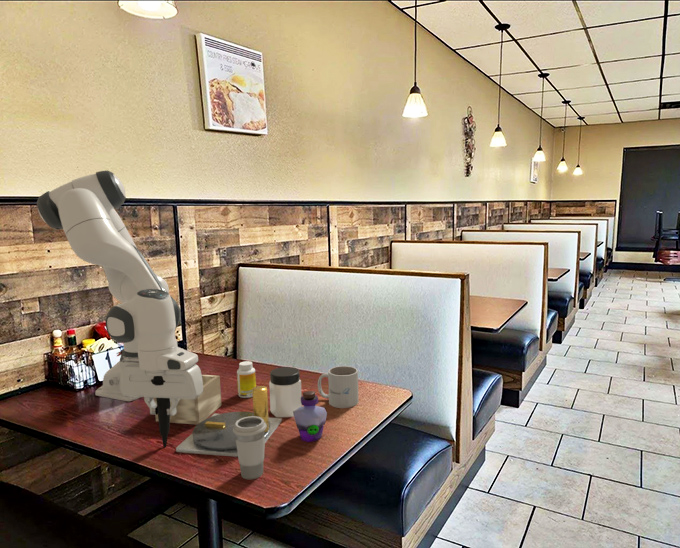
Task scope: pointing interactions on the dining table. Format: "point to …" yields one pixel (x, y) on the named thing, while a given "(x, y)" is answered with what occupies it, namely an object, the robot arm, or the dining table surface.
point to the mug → (341, 386)
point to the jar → (285, 391)
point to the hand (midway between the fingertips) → (163, 414)
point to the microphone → (162, 411)
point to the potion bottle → (310, 417)
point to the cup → (250, 445)
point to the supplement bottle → (246, 379)
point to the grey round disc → (230, 424)
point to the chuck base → (192, 447)
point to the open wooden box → (198, 403)
